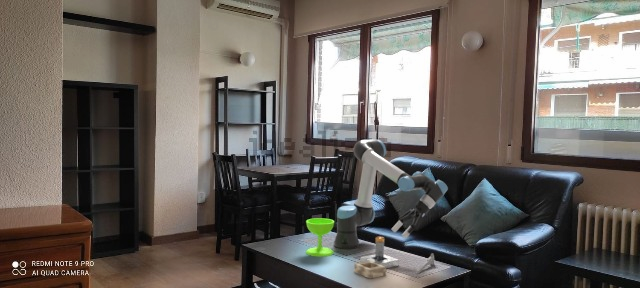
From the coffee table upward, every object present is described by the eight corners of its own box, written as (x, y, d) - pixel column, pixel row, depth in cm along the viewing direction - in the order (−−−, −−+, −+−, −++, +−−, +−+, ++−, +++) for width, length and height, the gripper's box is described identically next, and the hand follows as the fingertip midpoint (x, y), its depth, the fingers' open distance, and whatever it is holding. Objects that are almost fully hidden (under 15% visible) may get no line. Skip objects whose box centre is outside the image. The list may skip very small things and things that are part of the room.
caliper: (432, 264, 239) (432, 252, 239) (434, 264, 239) (434, 252, 238) (415, 274, 223) (415, 261, 223) (417, 274, 222) (417, 261, 222)
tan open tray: (354, 271, 225) (354, 263, 224) (369, 268, 230) (370, 260, 230) (369, 278, 215) (370, 270, 214) (385, 275, 220) (385, 266, 220)
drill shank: (373, 263, 238) (373, 237, 238) (379, 262, 241) (380, 236, 240) (379, 265, 234) (379, 239, 234) (385, 264, 237) (386, 237, 236)
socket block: (360, 262, 240) (360, 257, 239) (380, 258, 247) (380, 253, 247) (378, 269, 228) (378, 263, 228) (398, 265, 236) (398, 259, 236)
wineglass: (334, 249, 265) (335, 218, 264) (332, 257, 249) (333, 224, 248) (307, 248, 266) (307, 217, 266) (303, 256, 250) (304, 223, 250)
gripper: (440, 213, 231) (413, 244, 228) (418, 205, 255) (393, 233, 252) (431, 203, 229) (403, 234, 226) (410, 196, 253) (384, 224, 250)
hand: (398, 233), depth 239 cm, fingers open, 13 cm apart
